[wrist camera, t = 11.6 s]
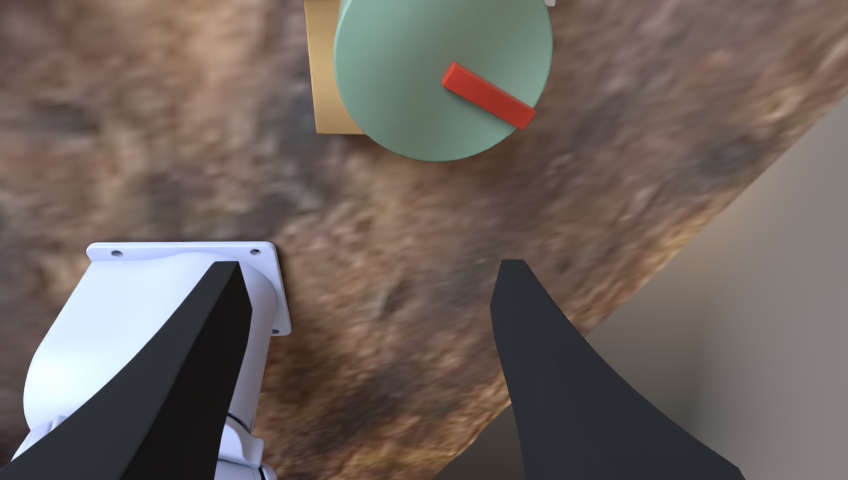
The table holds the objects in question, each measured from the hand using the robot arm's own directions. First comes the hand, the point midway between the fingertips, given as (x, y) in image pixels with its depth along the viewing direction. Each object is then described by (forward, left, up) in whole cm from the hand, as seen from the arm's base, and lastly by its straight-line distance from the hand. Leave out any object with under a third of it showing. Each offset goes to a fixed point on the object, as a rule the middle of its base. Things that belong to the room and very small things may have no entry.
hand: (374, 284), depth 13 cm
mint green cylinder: (+2, +5, -8) cm, 10 cm away
